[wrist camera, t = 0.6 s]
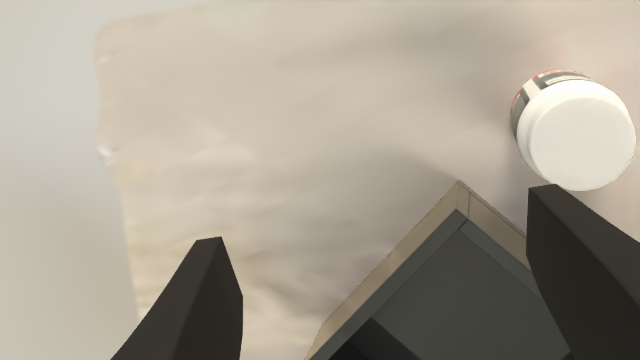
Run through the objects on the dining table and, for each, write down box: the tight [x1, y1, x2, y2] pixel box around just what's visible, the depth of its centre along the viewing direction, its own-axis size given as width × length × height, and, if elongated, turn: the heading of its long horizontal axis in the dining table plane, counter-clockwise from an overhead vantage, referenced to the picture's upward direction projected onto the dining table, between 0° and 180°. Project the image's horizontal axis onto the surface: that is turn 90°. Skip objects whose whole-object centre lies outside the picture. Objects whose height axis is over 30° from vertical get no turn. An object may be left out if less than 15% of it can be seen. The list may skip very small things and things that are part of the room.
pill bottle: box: [510, 69, 636, 191], centre depth 27 cm, size 5×5×8 cm
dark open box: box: [304, 180, 575, 360], centre depth 33 cm, size 15×14×5 cm
